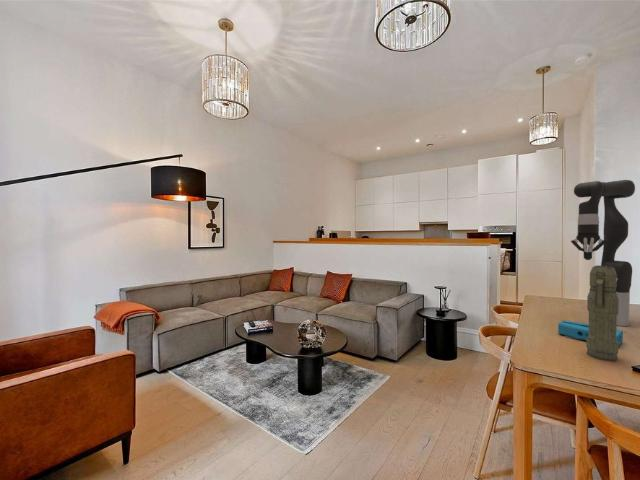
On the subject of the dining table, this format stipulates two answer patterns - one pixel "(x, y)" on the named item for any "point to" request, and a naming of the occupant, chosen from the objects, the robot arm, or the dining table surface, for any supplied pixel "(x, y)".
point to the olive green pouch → (602, 313)
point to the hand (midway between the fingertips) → (587, 259)
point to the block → (581, 330)
